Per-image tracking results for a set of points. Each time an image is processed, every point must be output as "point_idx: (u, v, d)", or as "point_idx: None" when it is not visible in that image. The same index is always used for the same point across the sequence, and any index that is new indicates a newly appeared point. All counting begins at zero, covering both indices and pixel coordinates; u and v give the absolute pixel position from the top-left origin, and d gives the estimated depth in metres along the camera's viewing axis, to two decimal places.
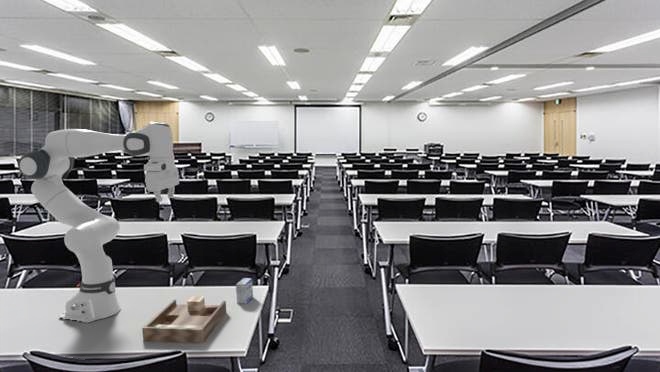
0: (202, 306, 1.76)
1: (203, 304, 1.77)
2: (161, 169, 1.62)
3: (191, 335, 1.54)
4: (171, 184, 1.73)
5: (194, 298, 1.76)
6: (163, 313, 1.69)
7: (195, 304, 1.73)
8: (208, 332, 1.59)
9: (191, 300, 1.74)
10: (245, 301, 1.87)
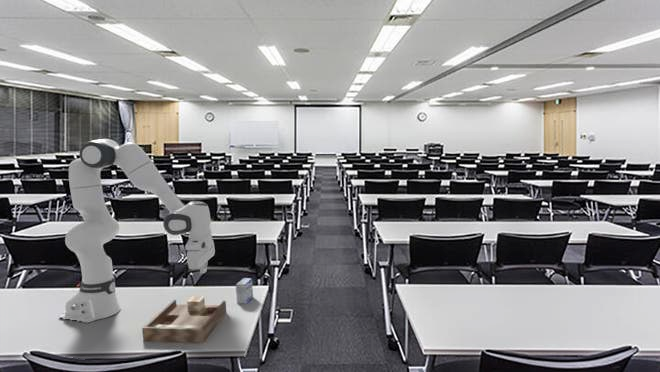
0: (202, 306, 1.76)
1: (203, 304, 1.77)
2: (201, 248, 1.73)
3: (191, 335, 1.54)
4: (208, 257, 1.84)
5: (194, 298, 1.76)
6: (163, 313, 1.69)
7: (195, 304, 1.73)
8: (208, 332, 1.59)
9: (191, 300, 1.74)
10: (245, 301, 1.87)
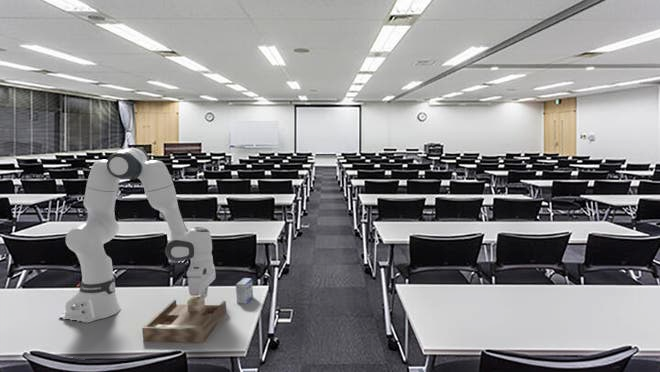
0: (202, 306, 1.76)
1: (203, 304, 1.77)
2: (202, 275, 1.75)
3: (191, 335, 1.54)
4: (209, 282, 1.86)
5: (194, 298, 1.76)
6: (163, 313, 1.69)
7: (195, 304, 1.73)
8: (208, 332, 1.59)
9: (191, 300, 1.74)
10: (245, 301, 1.87)
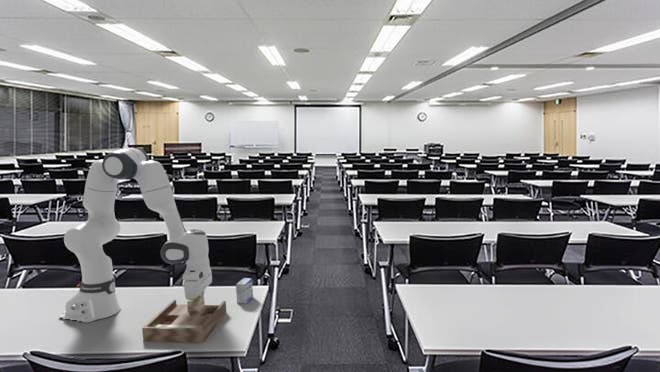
0: (202, 306, 1.76)
1: (203, 304, 1.77)
2: (199, 278, 1.71)
3: (191, 335, 1.54)
4: (206, 286, 1.82)
5: None
6: (163, 313, 1.69)
7: (194, 304, 1.73)
8: (208, 332, 1.59)
9: (191, 300, 1.74)
10: (245, 301, 1.87)
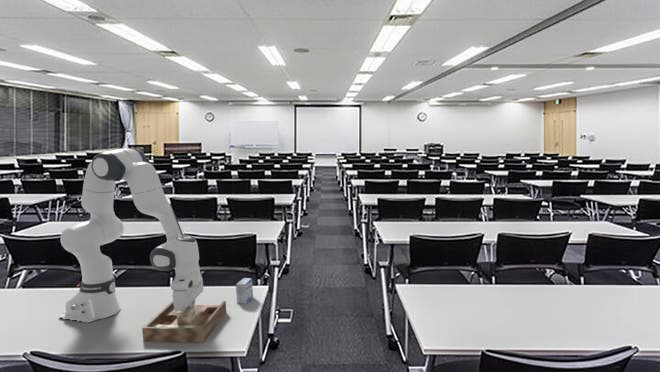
0: (192, 317, 1.66)
1: (194, 315, 1.67)
2: (188, 288, 1.61)
3: (191, 335, 1.54)
4: (196, 295, 1.72)
5: None
6: (163, 313, 1.69)
7: (185, 315, 1.63)
8: (208, 332, 1.59)
9: (181, 312, 1.64)
10: (245, 301, 1.87)
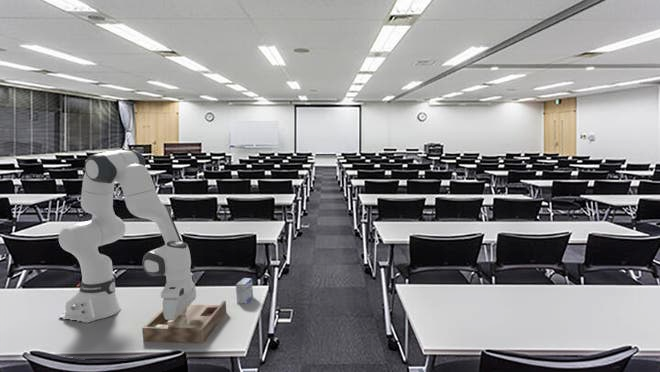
0: (184, 327, 1.58)
1: (186, 324, 1.59)
2: (179, 296, 1.53)
3: (191, 335, 1.54)
4: (188, 303, 1.64)
5: None
6: None
7: (176, 325, 1.55)
8: (208, 332, 1.59)
9: (172, 321, 1.56)
10: (245, 301, 1.87)
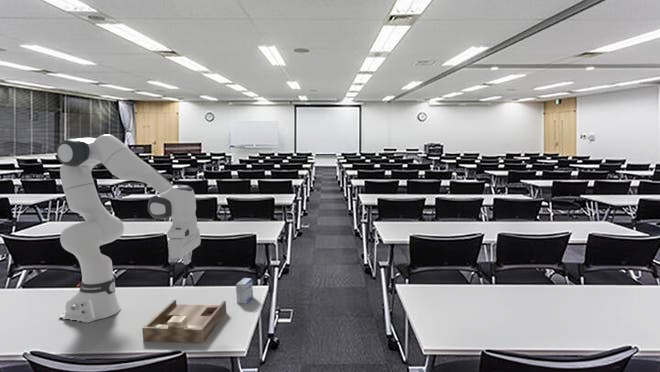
0: (184, 327, 1.58)
1: (185, 324, 1.59)
2: (185, 236, 1.58)
3: (191, 335, 1.54)
4: (193, 247, 1.69)
5: (175, 318, 1.58)
6: (163, 313, 1.69)
7: (176, 325, 1.55)
8: (208, 332, 1.59)
9: (172, 321, 1.56)
10: (245, 301, 1.87)
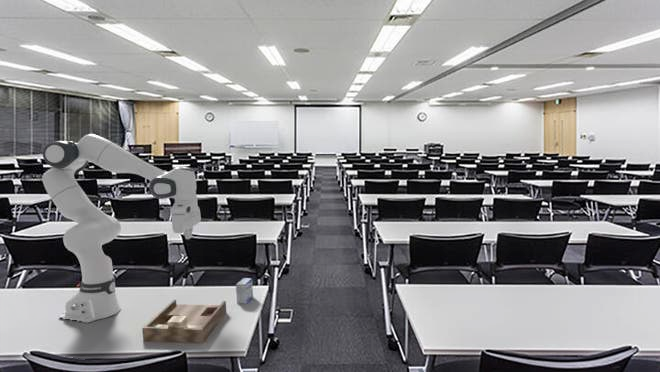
0: (184, 327, 1.58)
1: (185, 324, 1.59)
2: (186, 212, 1.74)
3: (191, 335, 1.54)
4: (194, 223, 1.85)
5: (175, 318, 1.58)
6: (163, 313, 1.69)
7: (176, 325, 1.55)
8: (208, 332, 1.59)
9: (172, 321, 1.56)
10: (245, 301, 1.87)
